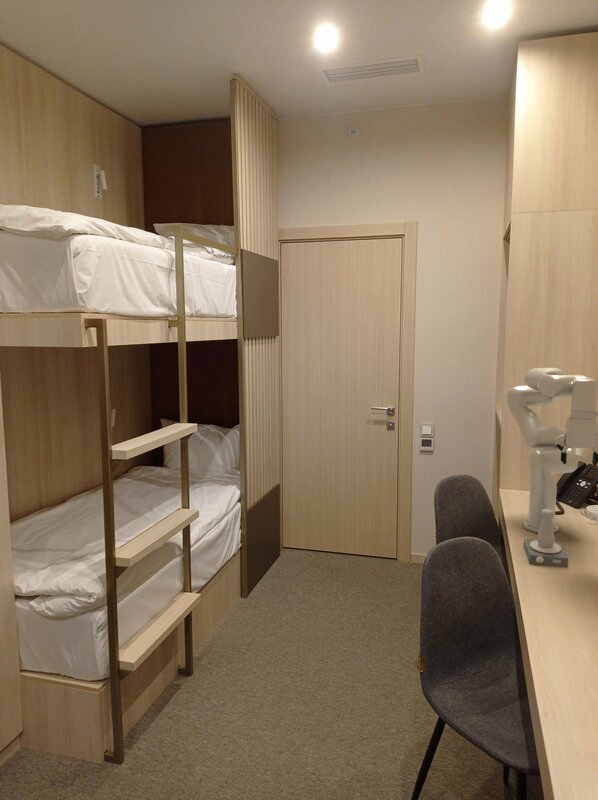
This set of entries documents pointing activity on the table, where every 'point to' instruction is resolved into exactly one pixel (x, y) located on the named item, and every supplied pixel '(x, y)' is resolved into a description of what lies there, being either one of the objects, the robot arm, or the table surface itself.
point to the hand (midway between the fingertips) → (579, 463)
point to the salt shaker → (546, 529)
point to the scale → (545, 553)
